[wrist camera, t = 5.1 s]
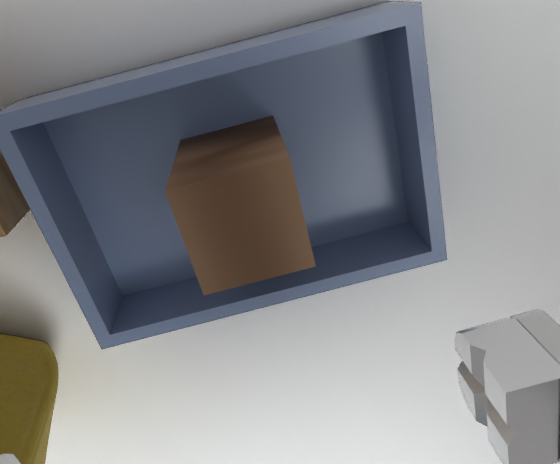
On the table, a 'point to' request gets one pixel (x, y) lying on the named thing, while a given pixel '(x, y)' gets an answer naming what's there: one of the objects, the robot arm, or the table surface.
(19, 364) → the flower pot
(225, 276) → the walnut block
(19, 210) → the wooden serving tray
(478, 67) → the table surface
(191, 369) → the table surface
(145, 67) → the blue tray
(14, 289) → the table surface
